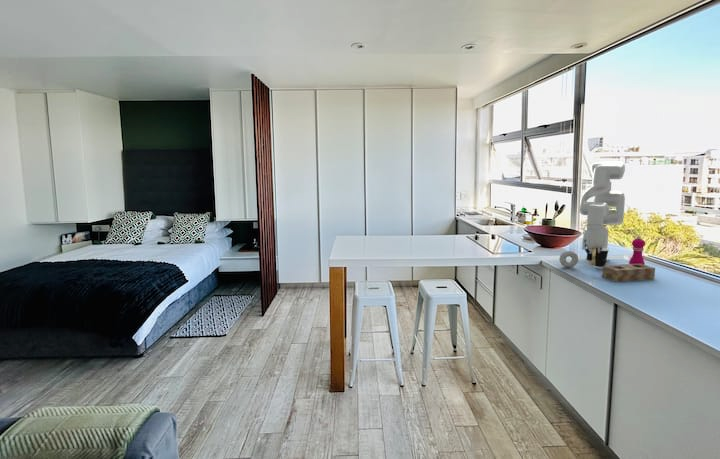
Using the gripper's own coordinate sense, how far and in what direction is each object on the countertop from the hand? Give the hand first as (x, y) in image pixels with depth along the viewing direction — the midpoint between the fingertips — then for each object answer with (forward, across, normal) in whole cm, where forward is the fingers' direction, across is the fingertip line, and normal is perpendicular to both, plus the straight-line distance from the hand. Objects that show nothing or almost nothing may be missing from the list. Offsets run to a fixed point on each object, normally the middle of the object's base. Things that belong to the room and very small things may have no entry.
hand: (592, 259), depth 228 cm
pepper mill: (+8, -25, +3) cm, 27 cm away
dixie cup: (+8, -12, -9) cm, 18 cm away
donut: (+8, +5, -13) cm, 16 cm away
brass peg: (+3, 0, 0) cm, 3 cm away
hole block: (+8, -11, +13) cm, 19 cm away
